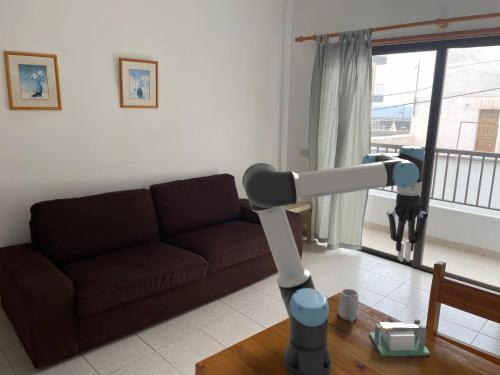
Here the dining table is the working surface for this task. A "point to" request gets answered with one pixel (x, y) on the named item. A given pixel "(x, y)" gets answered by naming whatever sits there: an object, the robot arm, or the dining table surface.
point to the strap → (399, 326)
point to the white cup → (349, 304)
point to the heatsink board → (400, 341)
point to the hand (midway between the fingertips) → (403, 259)
